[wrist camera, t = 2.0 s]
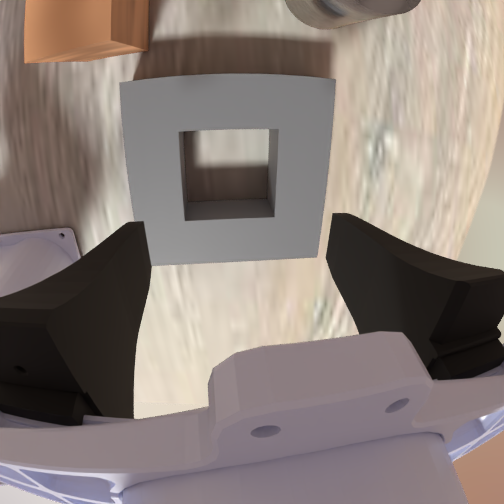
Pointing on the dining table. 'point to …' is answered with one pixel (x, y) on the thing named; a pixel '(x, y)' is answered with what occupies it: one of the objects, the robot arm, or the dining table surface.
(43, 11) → the square peg
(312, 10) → the round dowel
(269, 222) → the bore block
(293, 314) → the dining table surface
